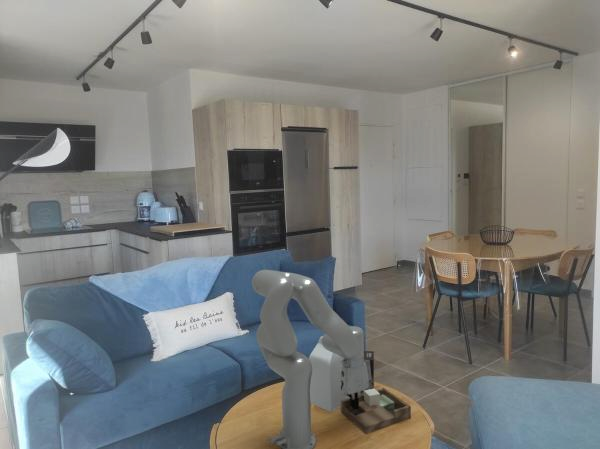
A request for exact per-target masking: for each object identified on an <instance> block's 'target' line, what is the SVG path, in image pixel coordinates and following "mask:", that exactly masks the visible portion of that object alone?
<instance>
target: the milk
mask: <svg viewBox="0 0 600 449" xmlns="http://www.w3.org/2000/svg"><path fill="white" fill-rule="evenodd" d="M322 337H323V335H322V336H320V337H319V339H318V342H317V343H316V345H315V347H314V348H313V350H312V351H311V352H310V355H309V356H308V359H309V360H310V362H311V364H312V376H311V383H310V405H313V406H315V407H319V408H320V409H322V408H323V409H322V410H325V411H327V412H329V413H333V412H335V410H337V409H338V408H341V401H343V400H346V399H349V398H350V397H349V396H342V395H341V392H342V390H341V387H340V377H341V368H342V364H341V361H342V360H343V357H341V356H339V355H337V354H334V353H332V352H330V351H328V350H326V349H325V348H324V347H323V345H322Z"/></svg>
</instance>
